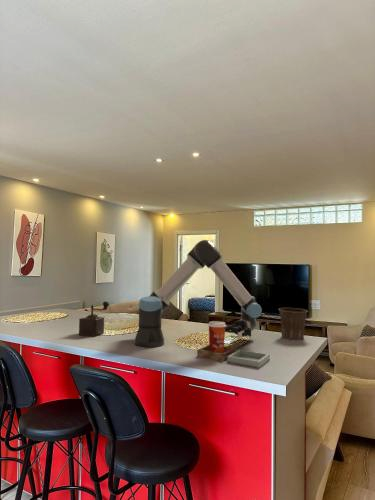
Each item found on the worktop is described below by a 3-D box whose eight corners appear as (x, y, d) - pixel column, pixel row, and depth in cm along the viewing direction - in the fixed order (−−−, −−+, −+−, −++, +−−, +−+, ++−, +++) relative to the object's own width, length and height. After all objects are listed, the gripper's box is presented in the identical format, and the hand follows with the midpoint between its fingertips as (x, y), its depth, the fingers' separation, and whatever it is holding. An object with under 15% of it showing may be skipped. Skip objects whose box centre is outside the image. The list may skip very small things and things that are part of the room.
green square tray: (227, 362, 145) (227, 356, 146) (239, 354, 158) (239, 349, 158) (259, 368, 138) (259, 361, 138) (269, 359, 150) (269, 354, 150)
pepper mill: (95, 337, 187) (96, 304, 188) (78, 335, 190) (79, 303, 191) (110, 331, 202) (110, 301, 203) (93, 330, 205) (94, 300, 206)
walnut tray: (197, 356, 153) (197, 349, 154) (210, 350, 165) (210, 343, 165) (223, 361, 147) (223, 354, 147) (235, 354, 158) (235, 347, 158)
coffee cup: (215, 359, 150) (216, 324, 151) (203, 354, 157) (204, 321, 157) (229, 356, 155) (230, 323, 155) (217, 352, 162) (218, 320, 162)
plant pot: (309, 341, 188) (309, 312, 188) (279, 339, 191) (279, 310, 192) (305, 335, 204) (305, 308, 204) (277, 333, 207) (277, 307, 207)
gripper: (264, 337, 175) (250, 345, 156) (219, 331, 187) (201, 338, 169) (264, 322, 175) (250, 329, 157) (220, 317, 188) (202, 323, 169)
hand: (225, 334), depth 163 cm, fingers open, 13 cm apart
